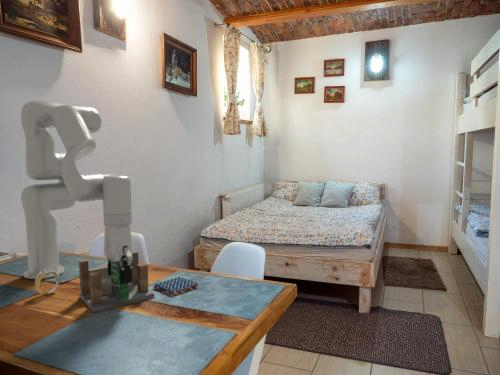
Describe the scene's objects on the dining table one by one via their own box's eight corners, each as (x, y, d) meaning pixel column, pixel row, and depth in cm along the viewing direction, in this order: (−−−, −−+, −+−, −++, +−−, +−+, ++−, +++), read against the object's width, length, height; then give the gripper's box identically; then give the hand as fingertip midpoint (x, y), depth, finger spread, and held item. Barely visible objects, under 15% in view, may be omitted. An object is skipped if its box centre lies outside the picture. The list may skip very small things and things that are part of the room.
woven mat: (151, 290, 118) (151, 284, 118) (179, 281, 126) (179, 275, 126) (172, 298, 111) (171, 292, 111) (199, 289, 119) (199, 282, 119)
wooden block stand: (79, 297, 111) (77, 260, 110) (135, 284, 122) (134, 250, 121) (94, 312, 100) (92, 271, 99) (154, 297, 111) (153, 260, 110)
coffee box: (110, 292, 111) (108, 249, 110) (120, 290, 113) (118, 247, 112) (119, 301, 105) (117, 255, 104) (129, 299, 107) (127, 253, 105)
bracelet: (38, 298, 110) (37, 271, 110) (33, 296, 112) (32, 269, 112) (62, 291, 116) (61, 266, 115) (57, 289, 118) (56, 264, 117)
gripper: (94, 216, 111) (96, 273, 113) (115, 225, 98) (117, 290, 99) (119, 214, 116) (121, 269, 117) (143, 222, 102) (144, 284, 104)
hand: (119, 278), depth 108 cm, fingers open, 9 cm apart
